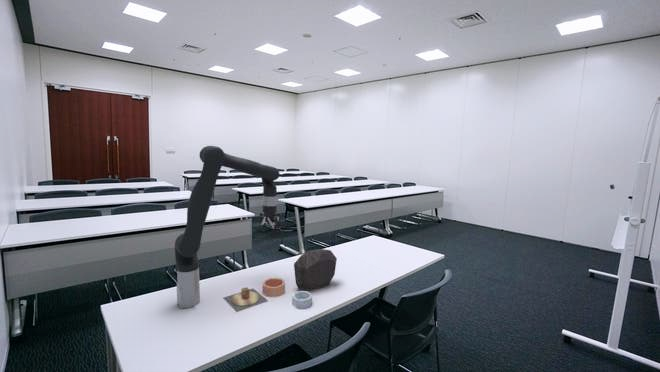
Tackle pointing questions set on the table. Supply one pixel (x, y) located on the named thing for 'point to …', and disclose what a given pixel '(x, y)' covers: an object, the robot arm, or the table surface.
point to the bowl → (273, 287)
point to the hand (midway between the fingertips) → (269, 233)
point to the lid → (245, 298)
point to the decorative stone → (315, 269)
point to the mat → (240, 308)
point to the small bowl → (302, 299)
